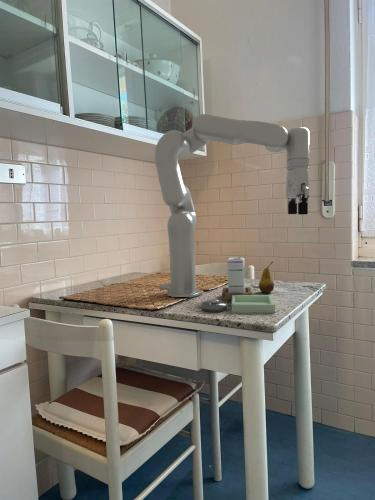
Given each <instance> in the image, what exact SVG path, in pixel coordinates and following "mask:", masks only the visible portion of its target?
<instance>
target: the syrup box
mask: <svg viewBox="0 0 375 500" xmlns="http://www.w3.org/2000/svg"><path fill="white" fill-rule="evenodd" d="M226 261H227V266H226V268H227V287H228V293H245V287H246V272H245V266H246V265H245V263H246V262H245V257H242V256H239V257H238V256H235V257H233V256H232V257H229V258H228V259H227V260H226Z"/></svg>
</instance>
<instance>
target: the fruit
mask: <svg viewBox="0 0 375 500" xmlns="http://www.w3.org/2000/svg"><path fill="white" fill-rule="evenodd" d="M273 263H274V261H271V262H270V264H269V265H268V266H266V267H265V268H264V269H263V271H262V275H261V278H260V279H259V284H258V288H259V290H260V292H262V293H264V294H270V293H272V292H273V290H274V288H275V284H274V283H275V282H274V280H273V278H272V277H271V272H270V269H269V268H270V266H271V265H272V264H273Z"/></svg>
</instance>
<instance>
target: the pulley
mask: <svg viewBox="0 0 375 500" xmlns="http://www.w3.org/2000/svg"><path fill="white" fill-rule="evenodd" d="M201 310H202V311H203V312H205V313H211V314H212V313H213V314H215V313H217V314H218V313H225V312H227V311H228V302H225V301H222V300H219V299H217V298H215V299H214V298H213V299H210V300H205V301H202V303H201Z"/></svg>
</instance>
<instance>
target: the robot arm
mask: <svg viewBox="0 0 375 500" xmlns="http://www.w3.org/2000/svg"><path fill="white" fill-rule="evenodd" d="M191 124H192V125H191V128H189V129H188V130H187V131H184V132H181V131H180V130H177V129H176V130H175V129H172V130H169V131H166V132H165V133H164V134H163V135H162V136H161V137H160V138H159V140H158V141H157V144H156V146H155V149H154V164H155V169H156V172H157V176H158V177H157V178H158V182H159V187H160V192H161V195H162V200H163V202H164V203H165V205H167V206H168V207H169V211H170V214H171V215H170V216H169V218H168V221H167V237H168V245H169V247H168V249H169V250H168V251H169V273H170V274H169V275H170V280H169V281H170V282H168V283H160V284H159V290H167V291H166V296H168V297H169V296H171V297H170V298H174V297H189V298H195V297H198V296H200V295H201V290H199V289H197V287H196V286H197V283H196V282H197V280H196V279H197V278H196V277H197V276H196V275H197V274H196V247H195V245H196V244H195V242H196V241H195V230H196V228H197V225H198V219H197V215H196V211H195V210H196V209H195V206H194V201H193V198H192V194H191V191H190V190H189V188H188V186H186V185H185V184H184V180H183V177H182V172H181V168H180V164H179V159H186V158H188V157H189V156H190V155H192V154H194V153H195V152H197V151H199V150H200V149H201V148H203V147H205V146H207V145H208V144H210V143H211V142H218V143H222V144H227V145H233V146H234V145H235V146H236V145H243V144H251V145H252V144H253V145H259V146H263V147H265V149H266V150H267V151H268V152H270V153H282V152H285V151H286V171H287V172H286V184H285V197H286V198H287V214H288V215H308V214H309V213H308V212H309V210H308V209H309V207H308V206H309V198H310V195H309V194H310V188H309V187H310V186H309V185H310V184H309V182H310V181H309V169H310V130H309V129H308V128H307V127H294V128H290V129H289V130H287V129H286V128H285V127H284V126H282V125H279V124H276V123H270V122H265V121H259V120H243V119H233V118H228V117H223V116H218V115H212V114H206V113H201V114H197V116H195V117H194V119H193V121H192V123H191ZM297 201H298V202H297Z"/></svg>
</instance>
